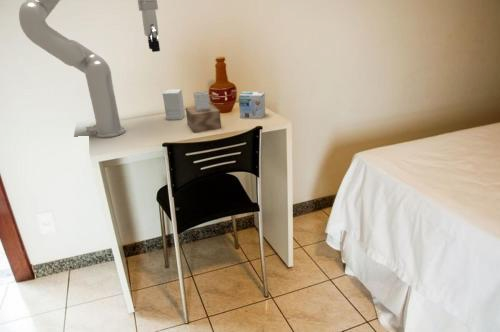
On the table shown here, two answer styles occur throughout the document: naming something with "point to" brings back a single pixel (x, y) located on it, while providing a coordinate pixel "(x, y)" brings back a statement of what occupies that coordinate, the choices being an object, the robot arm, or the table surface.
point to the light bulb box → (252, 104)
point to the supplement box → (173, 104)
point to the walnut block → (203, 119)
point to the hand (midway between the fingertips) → (154, 50)
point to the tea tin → (201, 101)
